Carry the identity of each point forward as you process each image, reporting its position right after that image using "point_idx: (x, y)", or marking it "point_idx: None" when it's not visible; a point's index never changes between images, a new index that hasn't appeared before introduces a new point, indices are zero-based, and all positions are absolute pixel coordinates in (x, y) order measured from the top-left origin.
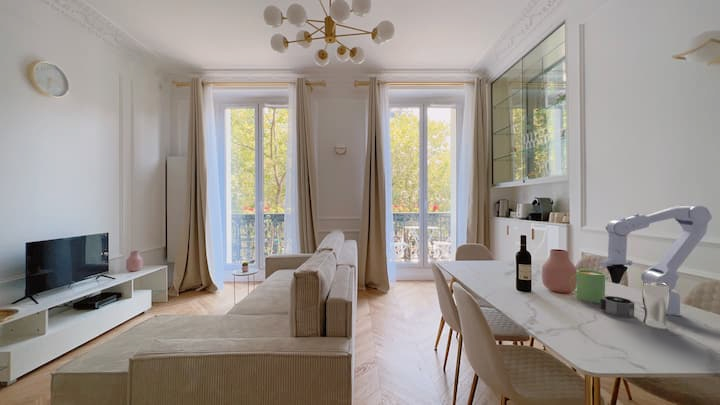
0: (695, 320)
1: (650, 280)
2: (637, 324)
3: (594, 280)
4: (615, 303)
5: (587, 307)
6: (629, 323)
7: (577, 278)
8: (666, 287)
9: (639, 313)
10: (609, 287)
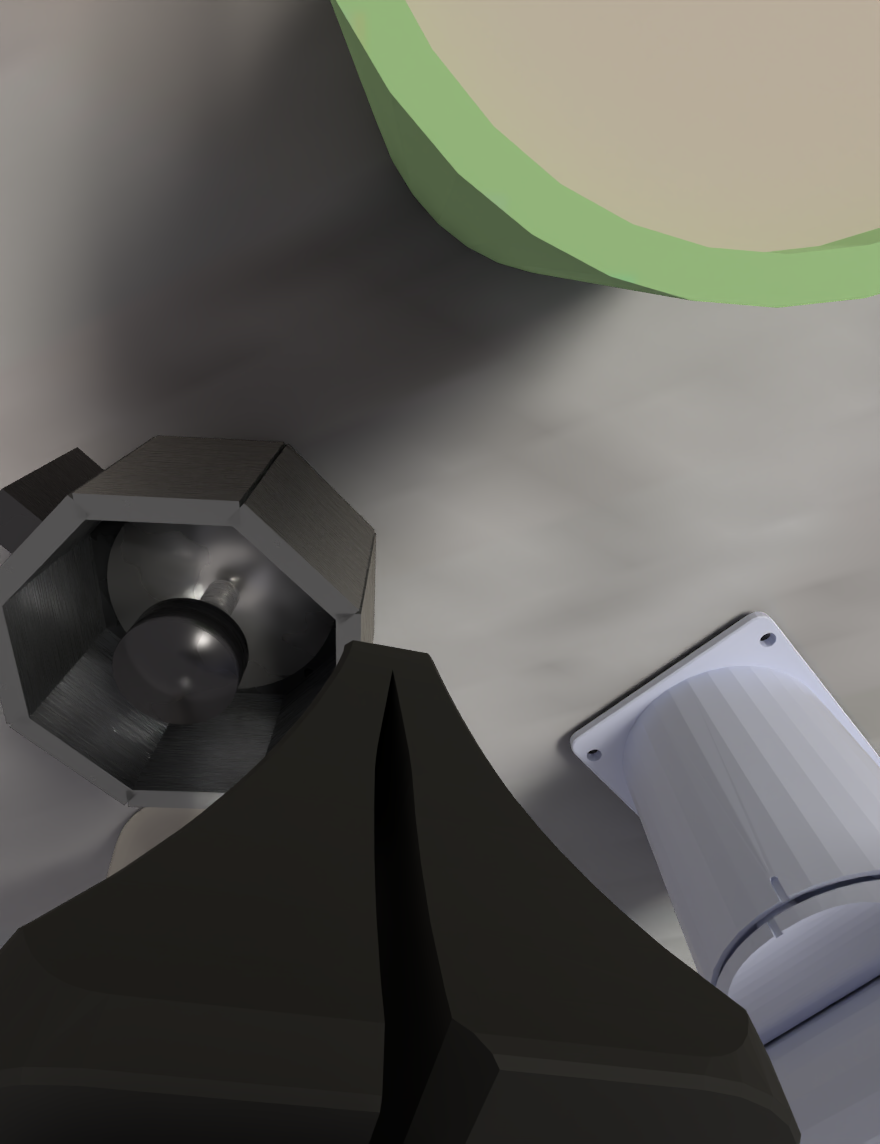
0: (672, 937)
1: (843, 1102)
2: (78, 787)
3: (400, 136)
4: (9, 700)
5: (55, 272)
6: (27, 750)
7: None
8: None
9: (453, 689)
10: None
